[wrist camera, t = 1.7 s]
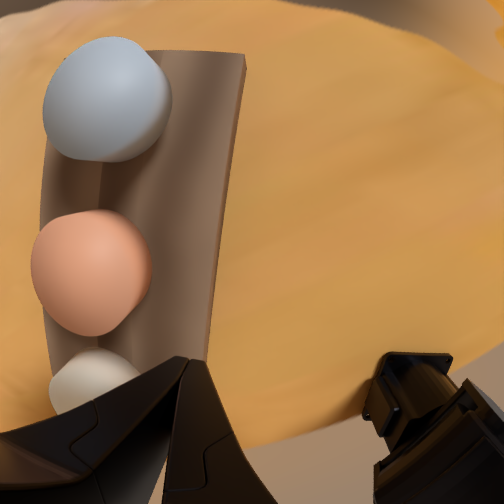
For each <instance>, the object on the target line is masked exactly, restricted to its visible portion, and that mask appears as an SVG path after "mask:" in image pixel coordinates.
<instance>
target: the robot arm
mask: <svg viewBox="0 0 504 504" xmlns="http://www.w3.org/2000/svg"><path fill="white" fill-rule="evenodd" d="M391 357H393V358H392V359H391V360H389V359H390V358H391ZM447 359H448V360H447ZM446 360H447V361H446ZM452 361H453V357H452V356H451V355H450V354H448V353H411V352H388V353H387V354H386V355H385V356H384V359H383V362H382V364H381V367H380V370H379V372H378V375H377V377H376V378H375V379H374V381H373V384H372V386H371V389H370V391H369V394H368V396H367V399H366V401H365V407H364V410H363V412H362V417H363V419H364V420H366V421H372V422H373V425H374V427H375V429H376V432H377V434H378V436H379V437H384V439H385V441H386V444H387V446H388V449H389V451H390V454H389V455H388V456H387V457H386V458H385V459H383V460H382V461H379V462H377V464H375V465H374V493H373V503H374V504H504V412H503V411H502V410H501V409H500V408H499V407H498V406H497V405H496V404H495V402H494V401H493V400H492V399H491V398H489V397H488V396H487V395H486V394H485V393H484V392H483V391H482V390H480V389H479V388H478V387H477V386H476V385H475V384H473V383H472V382H471V381H470V380H469V379H468V378H467V379H466V380H465V381H464V382H463V383H462V386H461V387H460V388H458V387H457V386H456V385H455V384H454V382H453V381H452V380H451V379H450V378H449V376H448V375H447V373H448V371H449V368H450V366H451V363H452ZM368 414H369V415H368ZM366 415H367V416H366ZM167 455H168V457H167ZM166 458H167V465H166V472H165V480H164V488H163V496H162V504H278V503H277V502H276V500H275V499H274V498H273V496H272V495H271V494H270V492H269V491H268V490H267V488H266V487H265V485H264V484H263V483H262V481H261V480H260V479H259V477H258V476H257V474H256V473H255V471H254V470H253V468H252V467H251V465H250V463H249V462H248V460H247V459H246V457H245V455H244V453H243V451H242V449H241V447H240V445H239V443H238V440H237V438H236V436H235V434H234V431H233V429H232V427H231V424H230V422H229V420H228V417H227V415H226V412H225V410H224V408H223V405H222V403H221V400H220V398H219V395H218V393H217V390H216V388H215V385H214V382H213V380H212V377H211V375H210V372H209V369H208V367H207V364H206V362H205V361H203V360H198V359H191V360H190V359H189V358H187V357H182V356H173V357H172V358H170V359H168V360H166V361H164V362H163V363H161V364H159V365H157V366H155V367H153V368H152V369H150V370H148V371H146V372H144V373H142V374H140V375H139V376H137V377H135V378H133V379H131V380H129V381H127V382H125V383H123V384H121V385H120V386H118V387H116V388H114V389H112V390H110V391H108V392H106V393H104V394H102V395H100V396H98V397H96V398H94V399H93V400H90V401H88V402H86V403H84V404H82V405H80V406H78V407H75V408H73V409H71V410H69V411H67V412H64V413H62V414H59V415H56V416H54V417H51V418H48V419H45V420H42V421H39V422H36V423H33V424H30V425H27V426H24V427H21V428H17V429H14V430H11V431H7V432H3V433H0V504H148V502H149V500H150V497H151V495H152V493H153V490H154V488H155V485H156V483H157V480H158V478H159V475H160V473H161V470H162V468H163V465H164V463H165V460H166Z"/></svg>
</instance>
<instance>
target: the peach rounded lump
mask: <svg viewBox="0 0 504 504" xmlns="http://www.w3.org/2000/svg"><path fill="white" fill-rule="evenodd" d="M31 276H32V281H33V285H34V288H35V291H36V293H37V296H38V298H39V300H40V302H41V304H42V305H43V307H44V308H45V310H46V311H47V312H48V314H49V315H50V316H51V317H52V318H53V319H54V320H55V321H56V322H57V323H58V324H59V325H61V326H62V327H64V328H65V329H67V330H69V331H71V332H73V333H76V334H78V335H83V336H99V335H103V334H106V333H108V332H110V331H111V330H113V329H114V328H115V327H116V326H117V325H119V324H120V322H121V321H122V320H123V319H124V318H125V317H126V316H127V315H128V314H129V313H130V312H131V311H132V310H133V309H134V308H135V307H136V306H137V305H138V304H139V303H140V302H141V300H142V299H143V298H144V296H145V295H146V293H147V291H148V289H149V286H150V282H151V277H152V261H151V255H150V251H149V248H148V245H147V243H146V241H145V239H144V237H143V235H142V234H141V232H140V231H139V229H138V228H137V227H136V226H135V225H134V224H133V223H132V222H131V221H130V220H129V219H127V218H126V217H125V216H123V215H121V214H119V213H117V212H114V211H112V210H107V209H95V210H89V211H84V212H79V213H75V214H70V215H65V216H61V217H58V218H56V219H54V220H52V221H51V222H49V223H48V224H47V225H46V226H45V227H44V228H43V229H42V230H41V231H40V233H39V234H38V236H37V238H36V240H35V243H34V246H33V249H32V254H31Z"/></svg>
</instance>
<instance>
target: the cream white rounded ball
mask: <svg viewBox="0 0 504 504" xmlns="http://www.w3.org/2000/svg"><path fill="white" fill-rule="evenodd" d="M139 375H140V373H139V372H138V370H137V369H136V368H135V367H134V366H133V365H132V364H131V363H129V362H128V361H127V360H126V359H124V358H123V357H121V356H119V355H118V354H116V353H114V352H112V351H109V350H106V349H102V348H95V347H93V348H85V349H83V350H81V351H79V352H78V353H77V354H76V355H75V356H74V357H73V358H72V359H71V360H70V361H69V362H68V363H67V364H66V365H65V366H64V367H63V368H62V369H61V370H60V371H59V372H58V373H57V374H56V375H55V376H54V377H53V378H52V380H51V381H50V384H49V397H50V400H51V403H52V406H53V408H54V410H55V411H56V413H57V415H59V414H62V413H64V412H67V411H69V410H71V409H73V408H75V407H78V406H80V405H82V404H84V403H86V402H88V401H90V400H93V399H94V398H96V397H98V396H100V395H102V394H104V393H106V392H108V391H110V390H112V389H114V388H116V387H118V386H120V385H121V384H123V383H125V382H127V381H129V380H131V379H133V378H135V377H137V376H139Z"/></svg>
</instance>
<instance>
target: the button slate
mask: <svg viewBox="0 0 504 504" xmlns="http://www.w3.org/2000/svg"><path fill="white" fill-rule="evenodd" d="M172 102H173V97H172V88H171V85H170V82H169V79H168V77H167V76H166V74H165V73H164V71H163V70H162V69H161V68H160V67H159V66H158V65H157V64H156V63H155V61H154V60H153V59H152V58H151V57H150V56H149V55H148V54H147V53H146V52H145V51H144V50H143V49H142V48H141V47H140V46H139V45H138V44H136V43H135V42H133V41H131V40H129V39H126V38H122V37H104V38H99V39H96V40H93V41H90V42H88V43H86V44H84V45H83V46H81V47H79V48H78V49H76V50H75V51H74V52H73V53H71V54H70V55H69V56H68V57H67V58H66V59H65V60H64V61H63V62H62V64H61V65H60V66H59V68H58V69H57V70H56V72H55V74H54V75H53V77H52V79H51V81H50V83H49V85H48V88H47V91H46V94H45V98H44V103H43V123H44V128H45V131H46V134H47V136H48V138H49V141H50V142H51V143H52V145H53V146H54V147H55V148H56V149H57V150H58V151H59V152H60V153H62V154H63V155H65V156H67V157H70V158H73V159H78V160H89V161H100V162H110V163H111V162H123V161H127V160H130V159H132V158H135V157H137V156H138V155H140V154H142V153H143V152H145V151H146V150H147V149H149V148H150V147H151V146H152V145H153V144H154V143H155V142H156V140H157V139H158V138H159V137H160V135H161V134H162V132H163V131H164V129H165V127H166V125H167V123H168V120H169V117H170V114H171V110H172Z"/></svg>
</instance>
